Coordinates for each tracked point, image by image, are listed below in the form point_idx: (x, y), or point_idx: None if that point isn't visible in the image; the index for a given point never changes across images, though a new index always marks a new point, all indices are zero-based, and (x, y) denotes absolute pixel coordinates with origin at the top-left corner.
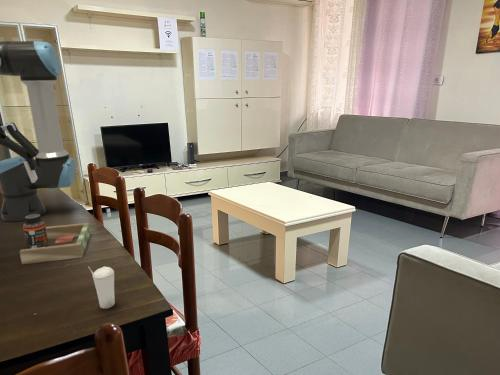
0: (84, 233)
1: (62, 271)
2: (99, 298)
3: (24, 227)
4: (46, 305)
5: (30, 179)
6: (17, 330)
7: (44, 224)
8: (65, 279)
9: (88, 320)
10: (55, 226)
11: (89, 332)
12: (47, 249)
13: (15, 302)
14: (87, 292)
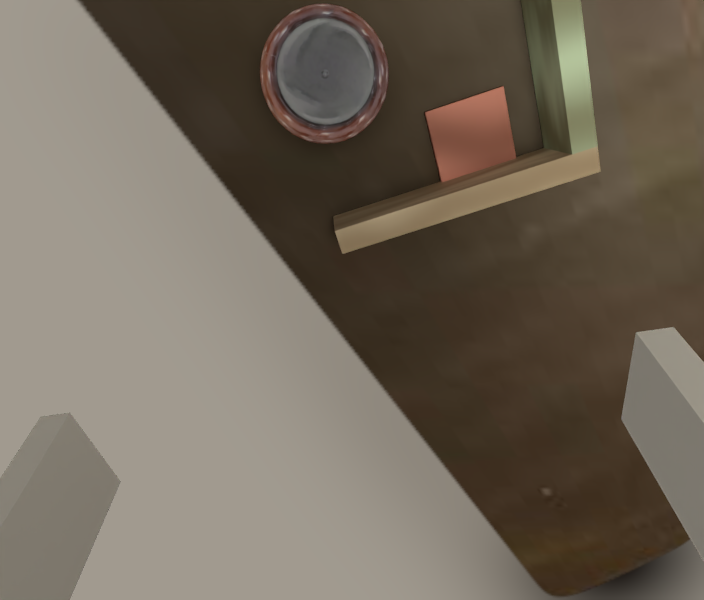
0: (578, 3)
1: (530, 286)
2: None
3: (297, 136)
4: (559, 462)
5: (644, 455)
6: (534, 541)
7: (387, 62)
8: (562, 338)
9: None
10: None
11: None
12: (454, 216)
13: (467, 455)
14: None
